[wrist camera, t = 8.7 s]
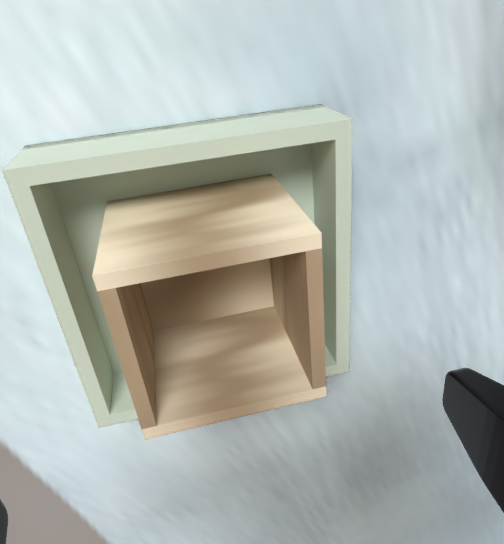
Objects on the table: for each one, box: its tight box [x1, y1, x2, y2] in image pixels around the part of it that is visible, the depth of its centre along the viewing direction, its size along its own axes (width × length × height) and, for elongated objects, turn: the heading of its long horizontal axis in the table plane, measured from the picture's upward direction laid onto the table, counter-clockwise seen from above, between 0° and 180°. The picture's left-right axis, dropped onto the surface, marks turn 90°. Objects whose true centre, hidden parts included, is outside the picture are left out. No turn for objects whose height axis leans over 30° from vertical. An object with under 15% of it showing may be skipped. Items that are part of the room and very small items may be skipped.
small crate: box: [92, 174, 326, 439], centre depth 17 cm, size 6×6×6 cm
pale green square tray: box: [2, 104, 352, 428], centre depth 19 cm, size 11×11×3 cm
